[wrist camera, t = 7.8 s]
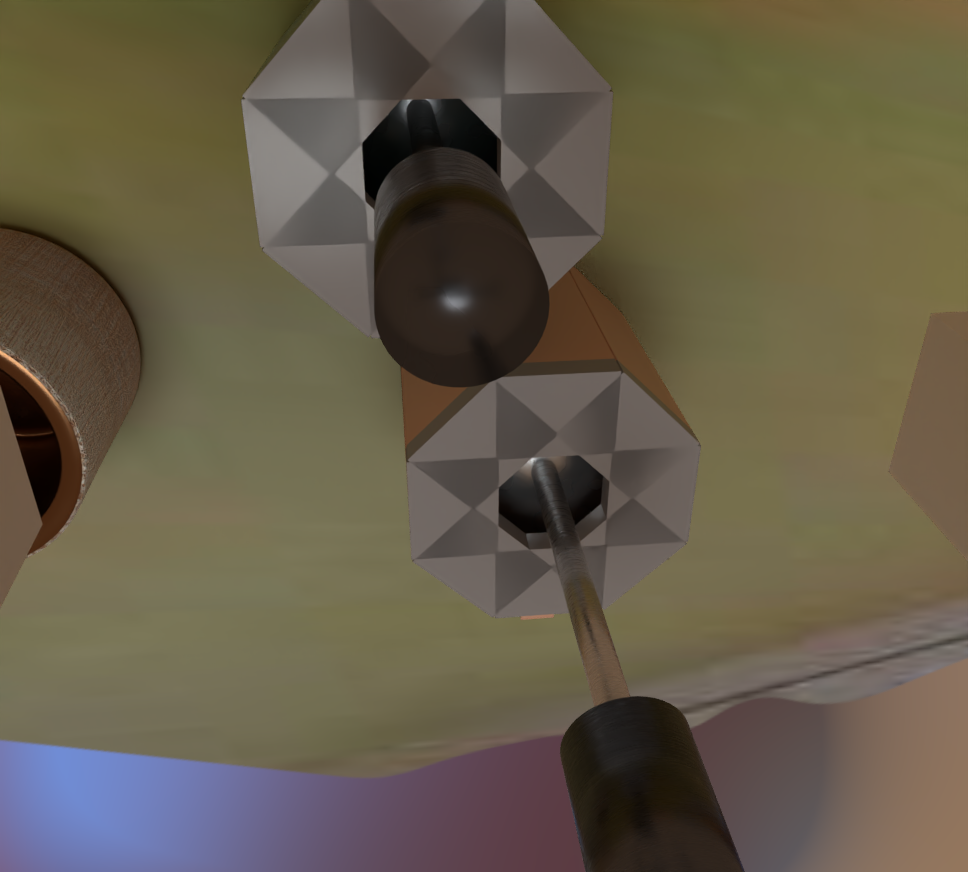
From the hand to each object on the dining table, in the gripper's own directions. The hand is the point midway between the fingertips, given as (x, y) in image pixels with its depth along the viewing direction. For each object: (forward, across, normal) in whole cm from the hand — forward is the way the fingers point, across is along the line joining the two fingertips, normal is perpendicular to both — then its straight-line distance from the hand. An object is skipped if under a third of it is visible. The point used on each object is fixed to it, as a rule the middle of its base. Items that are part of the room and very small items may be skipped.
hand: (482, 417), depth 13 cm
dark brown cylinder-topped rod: (+25, 0, -1) cm, 25 cm away
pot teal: (+28, 0, 0) cm, 28 cm away
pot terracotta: (+27, +4, -14) cm, 31 cm away
